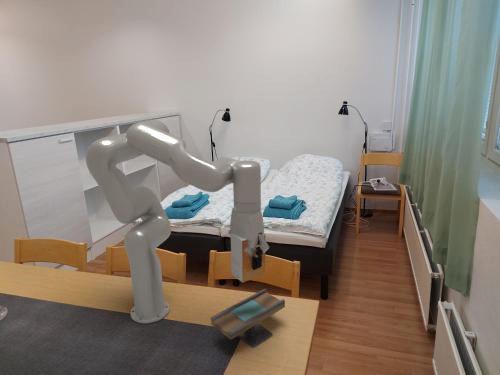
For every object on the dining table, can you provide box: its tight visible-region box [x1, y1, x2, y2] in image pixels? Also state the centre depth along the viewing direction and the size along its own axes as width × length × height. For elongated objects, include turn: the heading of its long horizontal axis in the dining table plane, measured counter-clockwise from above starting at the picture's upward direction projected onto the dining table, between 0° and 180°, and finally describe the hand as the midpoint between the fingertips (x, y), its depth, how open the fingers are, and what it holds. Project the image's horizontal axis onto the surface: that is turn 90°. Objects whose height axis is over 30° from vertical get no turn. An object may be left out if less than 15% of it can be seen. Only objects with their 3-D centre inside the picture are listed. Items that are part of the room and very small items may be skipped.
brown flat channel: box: [210, 288, 286, 340], centre depth 110 cm, size 9×22×2 cm, turn 132°
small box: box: [230, 233, 266, 283], centre depth 105 cm, size 8×6×13 cm
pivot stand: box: [236, 322, 274, 349], centre depth 111 cm, size 12×8×6 cm, turn 42°
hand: (248, 263), depth 105 cm, fingers closed on small box, 6 cm apart
